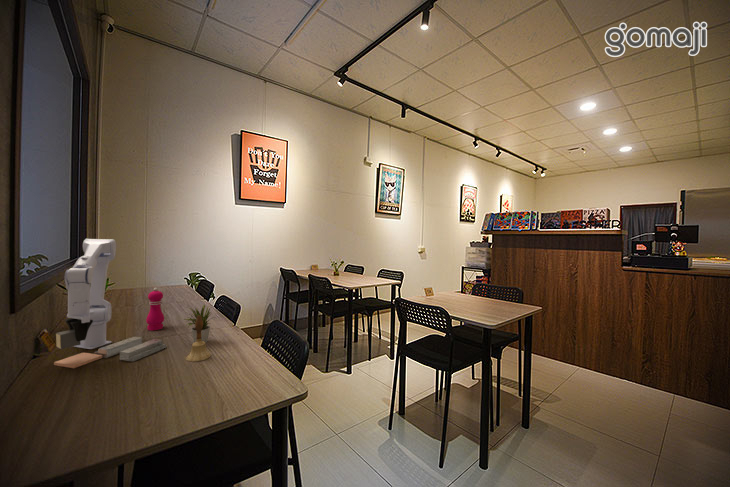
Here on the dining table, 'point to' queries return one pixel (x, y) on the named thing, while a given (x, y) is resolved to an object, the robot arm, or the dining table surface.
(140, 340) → the parallel gray bars
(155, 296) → the pepper mill
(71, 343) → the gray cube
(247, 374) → the dining table surface
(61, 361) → the pad
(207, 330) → the house plant
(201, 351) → the hand bell
